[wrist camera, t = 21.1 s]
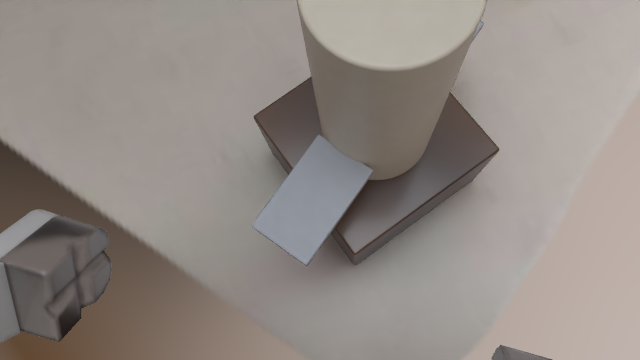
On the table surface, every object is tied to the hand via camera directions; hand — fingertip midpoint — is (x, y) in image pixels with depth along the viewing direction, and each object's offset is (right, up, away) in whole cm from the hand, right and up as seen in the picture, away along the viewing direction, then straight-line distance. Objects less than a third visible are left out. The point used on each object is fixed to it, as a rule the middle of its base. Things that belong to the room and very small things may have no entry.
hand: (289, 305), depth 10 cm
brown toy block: (+3, +3, +11) cm, 12 cm away
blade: (+2, +4, +7) cm, 9 cm away
